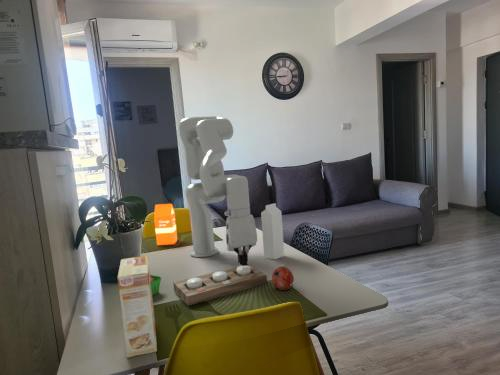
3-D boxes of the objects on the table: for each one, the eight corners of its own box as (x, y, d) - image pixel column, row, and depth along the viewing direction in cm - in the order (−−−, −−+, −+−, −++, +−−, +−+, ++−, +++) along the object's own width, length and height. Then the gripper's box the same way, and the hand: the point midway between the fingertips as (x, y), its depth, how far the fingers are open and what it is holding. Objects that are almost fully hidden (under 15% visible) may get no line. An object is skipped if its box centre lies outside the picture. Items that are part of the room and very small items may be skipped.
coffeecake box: (157, 351, 85) (148, 272, 82) (125, 358, 83) (115, 277, 80) (155, 322, 99) (148, 254, 97) (128, 328, 97) (120, 258, 95)
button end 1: (185, 286, 117) (184, 280, 117) (199, 283, 119) (198, 276, 119) (190, 291, 113) (189, 284, 113) (204, 287, 115) (204, 281, 115)
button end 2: (234, 273, 126) (234, 267, 125) (246, 270, 128) (246, 264, 128) (240, 277, 121) (240, 271, 121) (253, 274, 124) (252, 268, 123)
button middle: (210, 280, 121) (210, 273, 121) (223, 276, 124) (223, 270, 123) (216, 284, 117) (216, 277, 117) (229, 281, 119) (229, 274, 119)
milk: (284, 256, 148) (281, 203, 145) (274, 260, 144) (271, 206, 141) (273, 253, 153) (270, 202, 150) (263, 257, 149) (260, 204, 146)
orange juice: (174, 244, 180) (170, 204, 177) (156, 245, 180) (152, 206, 177) (177, 239, 187) (173, 202, 185) (160, 241, 188) (156, 203, 185)
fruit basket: (137, 305, 111) (133, 270, 110) (118, 300, 116) (114, 267, 114) (164, 291, 120) (160, 259, 119) (146, 287, 125) (142, 256, 124)
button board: (174, 290, 120) (173, 281, 120) (247, 271, 133) (246, 263, 133) (188, 305, 108) (187, 295, 108) (267, 282, 121) (266, 273, 121)
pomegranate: (281, 289, 121) (260, 277, 116) (292, 270, 122) (272, 258, 117) (294, 298, 115) (273, 287, 110) (305, 278, 115) (285, 266, 110)
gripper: (223, 217, 115) (228, 272, 117) (263, 210, 122) (267, 262, 124) (214, 214, 122) (219, 266, 124) (252, 208, 129) (256, 257, 131)
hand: (243, 264), depth 124 cm, fingers closed
